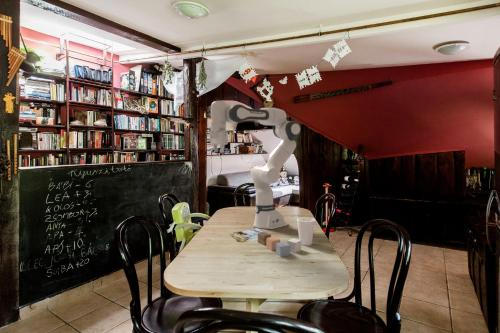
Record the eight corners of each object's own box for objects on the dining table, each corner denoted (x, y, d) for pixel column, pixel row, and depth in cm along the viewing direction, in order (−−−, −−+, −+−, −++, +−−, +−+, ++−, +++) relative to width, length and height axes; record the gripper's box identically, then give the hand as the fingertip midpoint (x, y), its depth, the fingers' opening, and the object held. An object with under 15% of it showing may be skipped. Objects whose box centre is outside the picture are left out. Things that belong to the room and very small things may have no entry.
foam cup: (304, 247, 148) (304, 222, 147) (293, 242, 157) (293, 218, 156) (318, 244, 153) (318, 220, 152) (307, 239, 161) (307, 216, 160)
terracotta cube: (274, 246, 151) (274, 236, 151) (280, 249, 147) (280, 239, 146) (266, 247, 149) (266, 238, 149) (271, 250, 145) (271, 241, 144)
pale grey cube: (292, 247, 149) (292, 238, 148) (301, 250, 145) (301, 240, 145) (287, 250, 145) (287, 240, 145) (295, 252, 142) (295, 242, 141)
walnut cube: (265, 240, 159) (265, 231, 159) (271, 243, 155) (271, 234, 155) (257, 242, 156) (257, 233, 156) (263, 245, 152) (263, 235, 152)
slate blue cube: (285, 251, 143) (285, 242, 143) (289, 255, 138) (290, 245, 138) (276, 253, 142) (276, 243, 141) (280, 257, 137) (280, 246, 136)
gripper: (230, 127, 161) (230, 152, 162) (217, 129, 179) (217, 151, 181) (219, 127, 158) (220, 153, 160) (207, 129, 177) (208, 152, 178)
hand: (218, 152), depth 170 cm, fingers open, 8 cm apart
